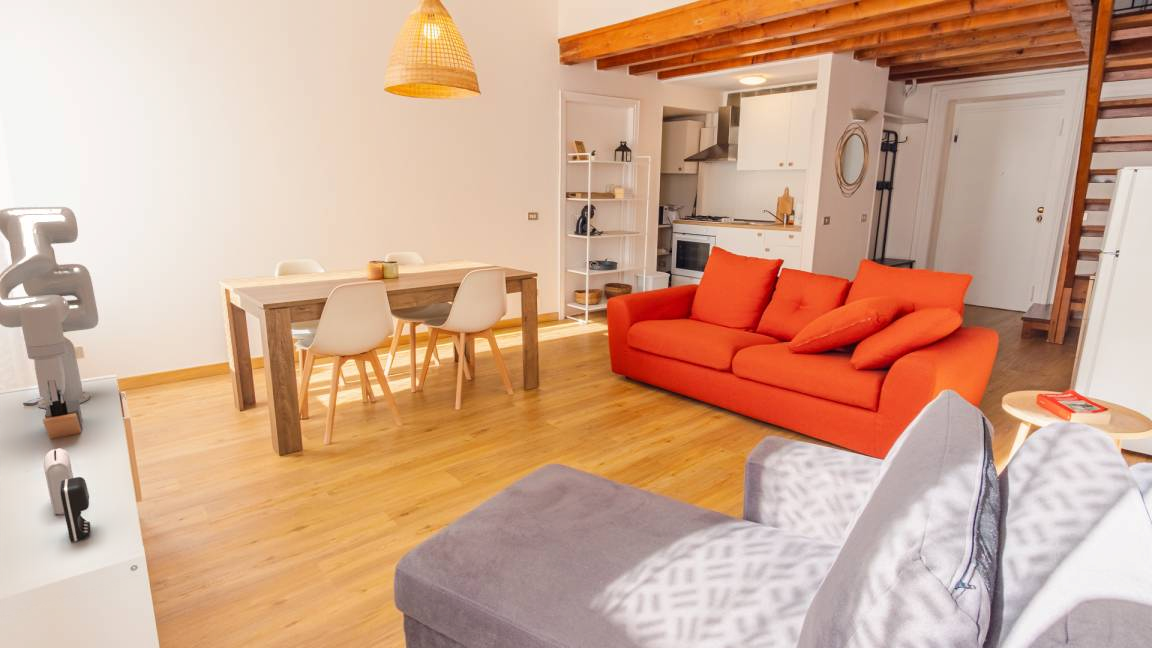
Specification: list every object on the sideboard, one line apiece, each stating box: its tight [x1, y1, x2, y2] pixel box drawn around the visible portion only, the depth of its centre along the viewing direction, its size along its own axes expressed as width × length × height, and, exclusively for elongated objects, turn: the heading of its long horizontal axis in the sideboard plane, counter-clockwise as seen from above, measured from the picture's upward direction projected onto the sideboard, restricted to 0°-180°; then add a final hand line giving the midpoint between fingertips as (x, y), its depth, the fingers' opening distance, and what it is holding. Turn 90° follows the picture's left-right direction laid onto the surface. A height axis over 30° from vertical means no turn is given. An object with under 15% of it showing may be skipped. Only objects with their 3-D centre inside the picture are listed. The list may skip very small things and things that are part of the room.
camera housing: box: [44, 400, 83, 432], centre depth 171 cm, size 10×7×8 cm
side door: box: [42, 413, 82, 440], centre depth 163 cm, size 1×7×12 cm
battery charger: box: [60, 476, 91, 543], centre depth 124 cm, size 7×4×11 cm, turn 37°
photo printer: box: [43, 448, 74, 515], centre depth 134 cm, size 10×4×12 cm, turn 39°
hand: (60, 417), depth 161 cm, fingers closed
